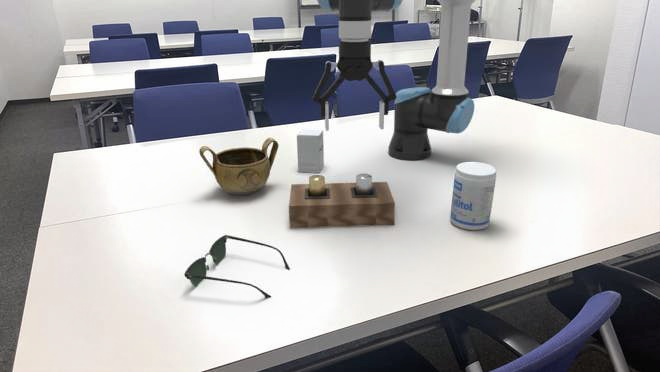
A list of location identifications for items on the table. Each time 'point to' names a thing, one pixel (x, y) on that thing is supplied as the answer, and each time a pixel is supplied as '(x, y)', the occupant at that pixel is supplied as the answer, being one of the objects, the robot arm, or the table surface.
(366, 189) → the steel peg
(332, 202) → the walnut block
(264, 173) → the ceramic bowl
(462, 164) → the supplement tub
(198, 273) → the sunglasses
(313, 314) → the table surface
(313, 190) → the brass peg
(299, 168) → the supplement box
